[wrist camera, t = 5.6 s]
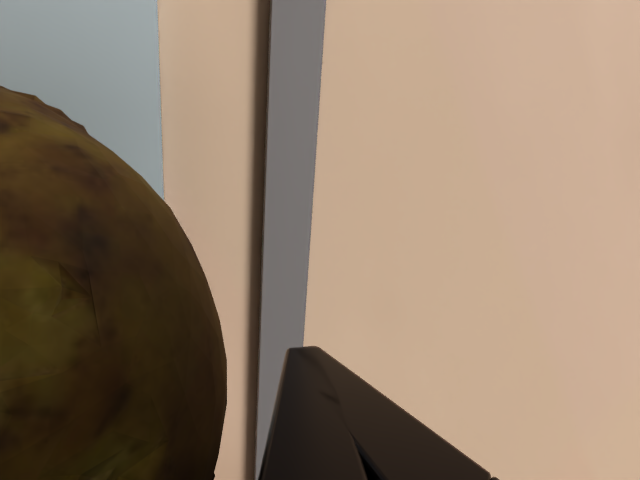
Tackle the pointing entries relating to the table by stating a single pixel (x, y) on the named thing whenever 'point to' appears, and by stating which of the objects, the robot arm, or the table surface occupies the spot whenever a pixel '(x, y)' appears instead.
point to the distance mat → (91, 70)
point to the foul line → (287, 191)
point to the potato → (98, 315)
